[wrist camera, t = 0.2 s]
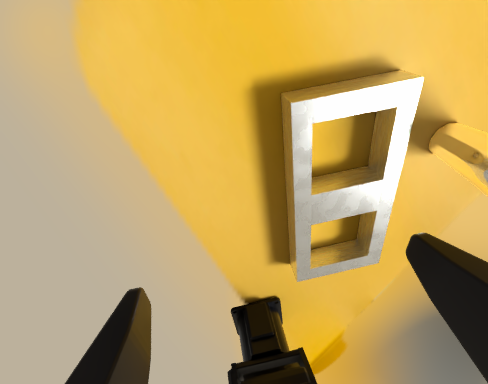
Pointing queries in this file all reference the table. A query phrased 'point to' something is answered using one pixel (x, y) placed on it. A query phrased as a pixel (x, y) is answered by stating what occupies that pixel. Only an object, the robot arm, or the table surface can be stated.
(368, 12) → the table surface
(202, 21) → the table surface
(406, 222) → the table surface
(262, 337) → the robot arm
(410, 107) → the block
